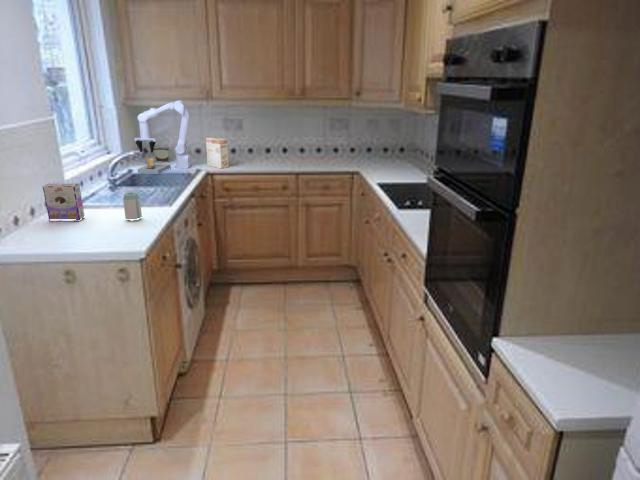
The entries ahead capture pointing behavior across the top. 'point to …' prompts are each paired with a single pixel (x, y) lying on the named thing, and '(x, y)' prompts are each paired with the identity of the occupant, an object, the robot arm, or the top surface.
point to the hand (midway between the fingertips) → (146, 152)
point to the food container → (161, 154)
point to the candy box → (63, 201)
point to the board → (157, 169)
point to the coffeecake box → (217, 152)
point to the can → (132, 206)
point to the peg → (150, 163)
